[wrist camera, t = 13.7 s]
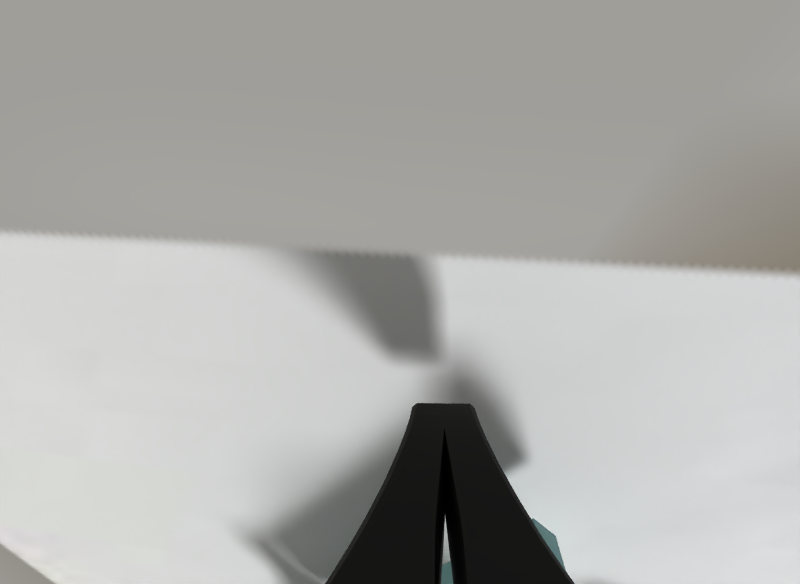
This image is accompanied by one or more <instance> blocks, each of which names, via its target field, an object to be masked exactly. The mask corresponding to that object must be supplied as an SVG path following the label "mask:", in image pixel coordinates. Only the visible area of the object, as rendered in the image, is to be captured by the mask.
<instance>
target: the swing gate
mask: <svg viewBox="0 0 800 584" xmlns="http://www.w3.org/2000/svg"><path fill="white" fill-rule="evenodd" d="M531 520H532V521H533V523H534V525H535V526H536V528H537V529H538V531H539V533H540V534H541V536H542V537H543V539H544V540H545V542H546V543H547V545H548V546H549V548H550V549H551V551H552V552H553V554H554V555H555V557H556V558H557V560H558V561H559V562H560V564H561V565H562V567H563V568H564V569H565V567H564V563H563V560H562V557H561V553H560V550H559V546H558V543H557V539H556V536H555V535H554V534H553V533H551V532H550V531H549V530H547V529H546V528H545V527H544V526H542V525H541V524H540V523H539V522H537V521H536V520H535V519H534V518H533V519H531ZM565 571H566V570H565ZM441 584H453V577H452V569H451V561H450V562H448V563H446V564H444V565H442V576H441Z"/></svg>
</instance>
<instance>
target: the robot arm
mask: <svg viewBox="0 0 800 584" xmlns="http://www.w3.org/2000/svg"><path fill="white" fill-rule="evenodd" d="M445 516H446V525H447V534H448V542H449V551H450V560H451V569H452V577H453V584H574V582H573V581H572V579H571V578H570V577H569V575H568V574H567V572H566V571H565V569H564V568H563V567H562V565H561V564H560V562H559V561H558V560H557V558H556V557H555V555H554V554H553V552H552V551H551V549H550V548H549V546H548V545H547V543H546V542H545V540H544V539H543V537H542V536H541V534H540V533H539V531H538V529H537V528H536V526H535V525H534V523H533V521H532V520H531V518H530V517H529V515H528V513H527V512H526V510H525V509H524V507H523V505H522V504H521V502H520V500H519V499H518V497H517V495H516V494H515V492H514V490H513V488H512V486H511V485H510V483H509V481H508V479H507V477H506V476H505V474H504V472H503V470H502V468H501V467H500V465H499V463H498V461H497V459H496V457H495V455H494V453H493V451H492V449H491V447H490V445H489V443H488V441H487V439H486V436H485V434H484V432H483V430H482V427H481V425H480V422H479V420H478V417H477V414H476V411H475V408H474V407H473V406H472V405H471V404H441V403H417V404H415V405H414V406H413V407H412V411H411V415H410V419H409V422H408V425H407V429H406V431H405V434H404V437H403V439H402V442H401V445H400V447H399V450H398V452H397V454H396V457H395V459H394V461H393V463H392V465H391V468H390V470H389V472H388V474H387V477H386V479H385V481H384V483H383V485H382V487H381V489H380V491H379V493H378V495H377V497H376V498H375V500H374V502H373V504H372V506H371V508H370V510H369V512H368V514H367V516H366V517H365V519H364V521H363V523H362V525H361V526H360V528H359V530H358V532H357V533H356V535H355V537H354V539H353V540H352V542H351V544H350V545H349V547H348V549H347V550H346V552H345V554H344V555H343V557H342V558H341V560H340V562H339V563H338V565H337V566H336V568H335V570H334V571H333V573H332V574H331V576H330V577H329V579H328V580H327V582H326V583H325V584H441V576H442V558H443V541H444V523H445Z"/></svg>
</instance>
